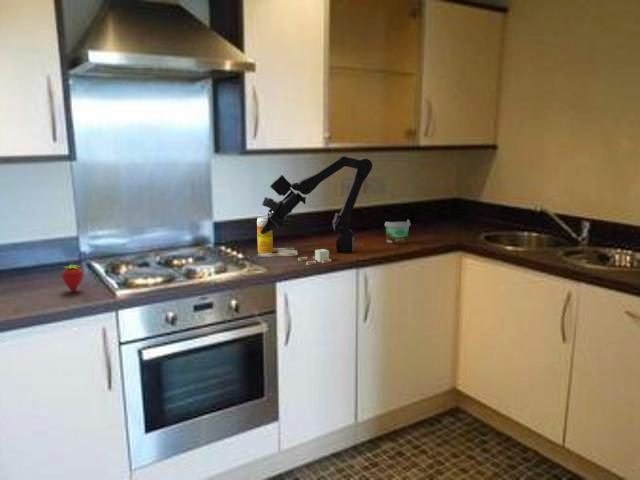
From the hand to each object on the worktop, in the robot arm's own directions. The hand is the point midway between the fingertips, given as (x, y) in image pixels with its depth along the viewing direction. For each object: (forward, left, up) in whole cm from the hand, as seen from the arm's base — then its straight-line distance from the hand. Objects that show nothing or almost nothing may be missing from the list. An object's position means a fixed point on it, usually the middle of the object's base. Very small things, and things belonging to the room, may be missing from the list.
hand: (261, 231), depth 224 cm
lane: (-6, -2, -9) cm, 11 cm away
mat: (-10, -3, -9) cm, 14 cm away
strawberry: (+39, +65, -9) cm, 76 cm away
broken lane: (-24, +8, -9) cm, 27 cm away
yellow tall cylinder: (-1, 0, -9) cm, 9 cm away
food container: (-52, -32, -9) cm, 62 cm away
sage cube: (-27, +6, -9) cm, 29 cm away
